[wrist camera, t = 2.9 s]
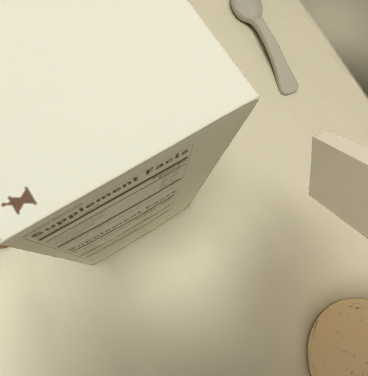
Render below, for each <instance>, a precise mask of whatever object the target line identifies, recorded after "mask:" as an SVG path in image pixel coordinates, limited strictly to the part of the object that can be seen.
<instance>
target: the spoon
mask: <svg viewBox="0 0 368 376" xmlns="http://www.w3.org/2000/svg"><path fill="white" fill-rule="evenodd" d="M230 3H231V7H232V10H233V12H234V14H235V15H236V16H237V18H238V19H240V20H241V21H243V22H246V23H249V24H251V25H252V26H253V27H254V28H255V30H256V31H257V33H258V34H259V36H260V38H261V40H262V42H263V44H264V46H265V48H266V50H267V53H268V55H269V58H270V61H271V64H272V67H273V70H274V74H275V78H276V82H277V86H278V89H279V91H280V93H281V94H282V95H289V94H292V93H294V92H296V91H297V90H298V83H297V81H296V79H295V77H294V75H293V73H292V71H291V69H290V68H289V66H288V64H287V62H286V60H285V57H284V55H283V53H282V51H281V49H280V47H279V45H278V43H277V41H276V40H275V38H274V36H273V34H272V33H271V31H270V30H269V28H268V26H267V25H266V23H265V22H264V20H263V18H262V2H261V0H230Z"/></svg>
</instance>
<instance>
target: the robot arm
mask: <svg viewBox="0 0 368 376" xmlns="http://www.w3.org/2000/svg"><path fill="white" fill-rule="evenodd" d="M309 195H310V196H311V197H313V198H314V199H315V200H317V201H318V202H319V203H321V204H322V205H323V206H325V207H326V208H327V209H329V210H330V211H331V212H333V213H334V214H335V215H337V216H338V217H339V218H341V219H342V220H343V221H345V222H346V223H347V224H349V225H350V226H351V227H353V228H354V229H355V230H357V231H358V232H359V233H361V234H362V235H363V236H365V237H366V238H367V239H368V149H366V148H364V147H362V146H360V145H358V144H356V143H354V142H351V141H349V140H347V139H345V138H343V137H341V136H339V135H336V134H334V133H332V132H330V131H328V132H325V133H322V134H319V135H316V136H313V139H312V155H311V170H310V186H309Z"/></svg>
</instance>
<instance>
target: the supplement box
mask: <svg viewBox="0 0 368 376" xmlns="http://www.w3.org/2000/svg"><path fill="white" fill-rule="evenodd" d="M259 97H260V96H259V95H258V93H257V92H256V90H255V89H254V88H253V87H252V85H251V84H250V83H249V81H248V80H247V79H246V77H245V76H244V75H243V73H242V72H241V71H240V69H239V68H238V67H237V65H236V64H235V63H234V61H233V60H232V59H231V57H230V56H229V55H228V54H227V52H226V51H225V49H224V48H223V47H222V45H221V44H220V43H219V41H218V40H217V39H216V37H215V36H214V35H213V33H212V32H211V31H210V29H209V28H208V27H207V25H206V24H205V22H204V21H203V20H202V18H201V17H200V16H199V14H198V13H197V12H196V10H195V9H194V8H193V6H192V5H191V3H190V2H189V1H188V0H0V244H1V245H4V246H8V247H13V248H18V249H22V250H27V251H31V252H35V253H40V254H44V255H50V256H53V257H59V258H64V259H68V260H72V261H76V262H80V263H85V264H89V265H94V264H96V263H98V262H99V261H101V260H103V259H105V258H106V257H108V256H110V255H111V254H113V253H115V252H116V251H118V250H120V249H121V248H123V247H125V246H126V245H128V244H130V243H131V242H133V241H134V240H136V239H138V238H139V237H141V236H143V235H144V234H146V233H147V232H149V231H151V230H152V229H154V228H155V227H157V226H159V225H160V224H162V223H163V222H165V221H166V220H168V219H170V218H171V217H173V216H174V215H176V214H177V213H179V212H180V211H182V210H183V209H185V208H186V207H187V206H189V204H190V203H191V201H192V200H193V198H194V197H195V195H196V193H197V192H198V190H199V189H200V187H201V186H202V184H203V183H204V182H205V180H206V178H207V177H208V175H209V174H210V172H211V171H212V169H213V168H214V166H215V165H216V164H217V162H218V161H219V159H220V157H221V156H222V154H223V153H224V151H225V150H226V149H227V147H228V146H229V144H230V143H231V141H232V140H233V138H234V136H235V135H236V133H237V132H238V130H239V129H240V127H241V126H242V125H243V123H244V122H245V120H246V119H247V117H248V116H249V114H250V113H251V111H252V110H253V108H254V106H255V105H256V103H257V102H258V100H259Z"/></svg>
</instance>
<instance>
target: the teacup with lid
mask: <svg viewBox="0 0 368 376" xmlns="http://www.w3.org/2000/svg"><path fill="white" fill-rule="evenodd" d="M308 364H309V369H310V373H311V376H368V300H366V299H357V298H355V299H345V300H341V301H338V302H336V303H334V304H332V305H331V306H329V307H328V308H327V309H325V310H324V311H323V312H322V313H321V314H320V316H319V317H318V318H317V320H316V322H315V323H314V325H313V327H312V330H311V333H310V337H309V341H308Z"/></svg>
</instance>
